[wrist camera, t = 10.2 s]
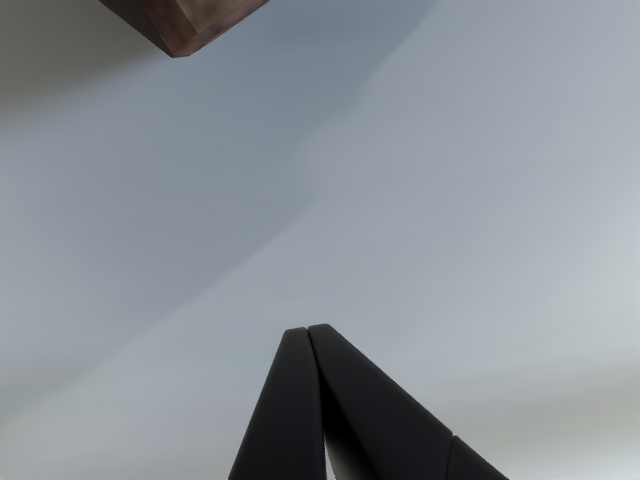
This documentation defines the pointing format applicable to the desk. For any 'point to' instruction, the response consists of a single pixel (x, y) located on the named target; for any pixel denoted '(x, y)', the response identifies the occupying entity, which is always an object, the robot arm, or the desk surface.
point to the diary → (182, 20)
